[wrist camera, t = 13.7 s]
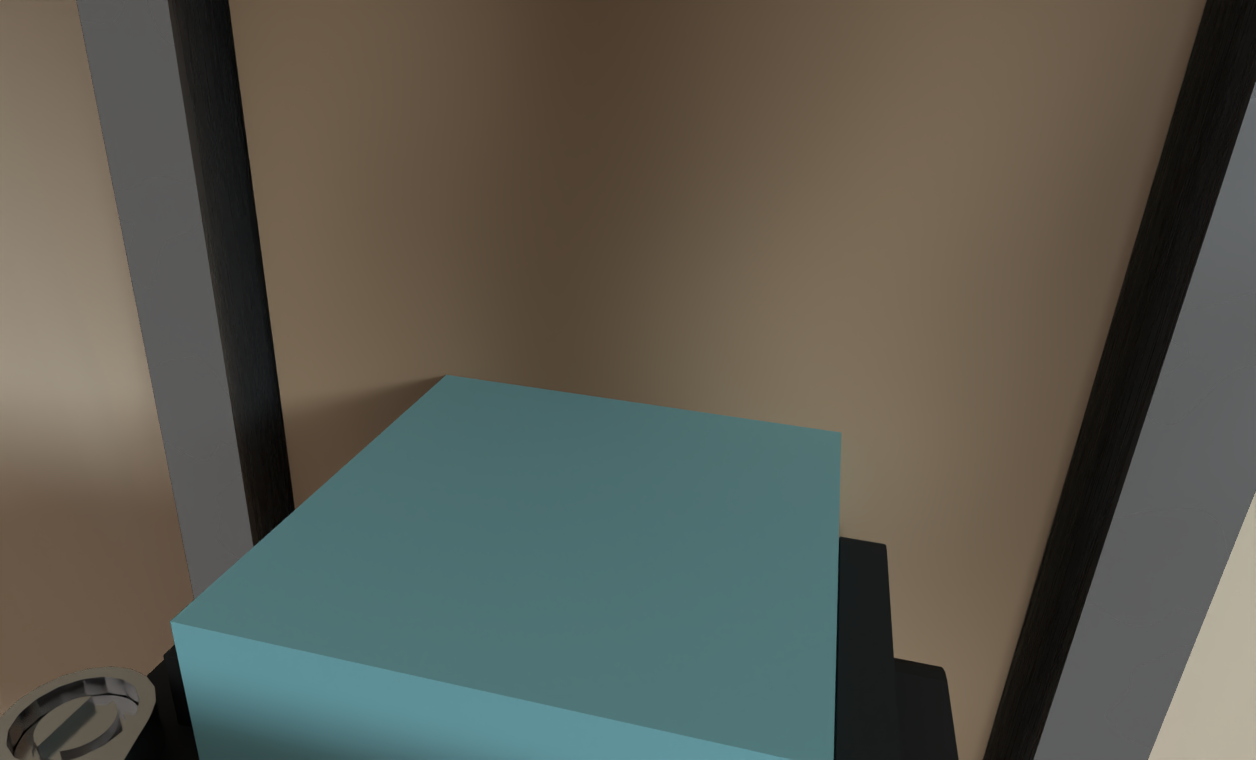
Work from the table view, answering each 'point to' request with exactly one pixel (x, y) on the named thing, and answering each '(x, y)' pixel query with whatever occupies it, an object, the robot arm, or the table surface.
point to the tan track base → (729, 241)
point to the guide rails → (1100, 465)
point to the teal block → (535, 592)
